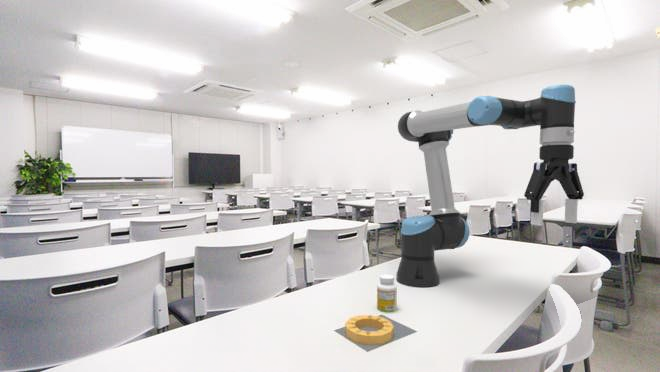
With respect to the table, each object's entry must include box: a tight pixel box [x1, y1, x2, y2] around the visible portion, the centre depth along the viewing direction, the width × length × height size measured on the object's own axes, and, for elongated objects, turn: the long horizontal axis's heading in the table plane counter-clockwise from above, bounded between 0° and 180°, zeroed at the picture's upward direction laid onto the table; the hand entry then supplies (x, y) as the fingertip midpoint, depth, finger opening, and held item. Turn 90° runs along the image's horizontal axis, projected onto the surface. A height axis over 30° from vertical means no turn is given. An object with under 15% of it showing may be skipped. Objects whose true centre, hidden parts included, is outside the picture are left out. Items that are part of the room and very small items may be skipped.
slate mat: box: [334, 314, 418, 353], centre depth 78 cm, size 12×16×1 cm
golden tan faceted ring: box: [344, 314, 394, 345], centre depth 77 cm, size 11×11×2 cm
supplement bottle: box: [376, 274, 398, 314], centre depth 91 cm, size 5×5×10 cm
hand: (554, 223), depth 88 cm, fingers open, 13 cm apart
